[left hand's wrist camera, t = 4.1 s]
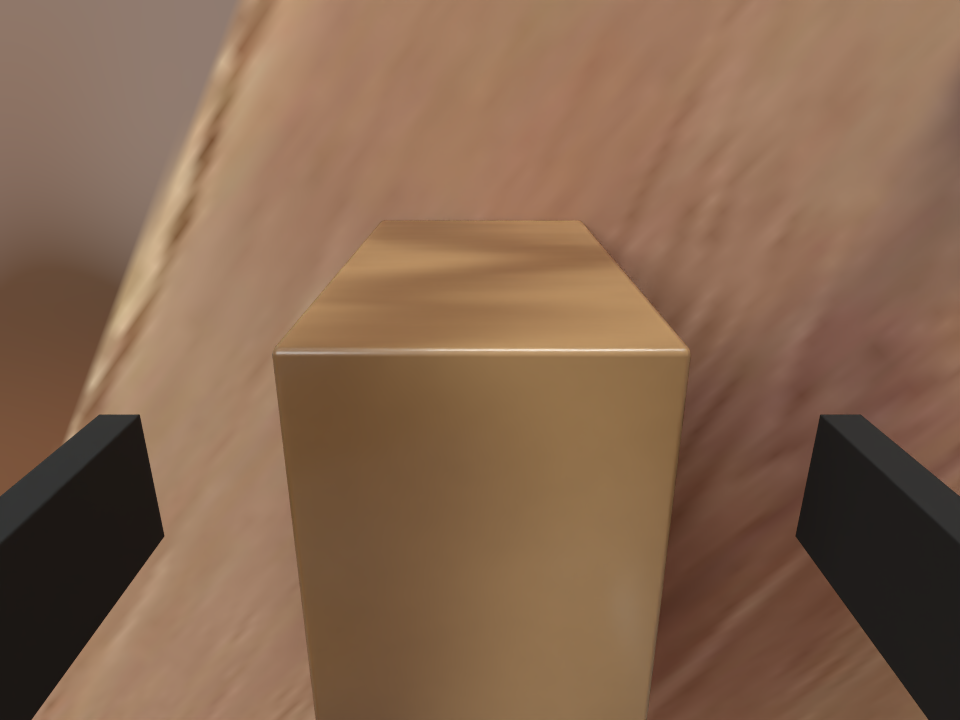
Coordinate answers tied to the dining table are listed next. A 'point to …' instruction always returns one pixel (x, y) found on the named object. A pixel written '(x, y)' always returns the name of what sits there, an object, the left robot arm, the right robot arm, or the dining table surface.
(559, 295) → the brick
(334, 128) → the dining table surface
